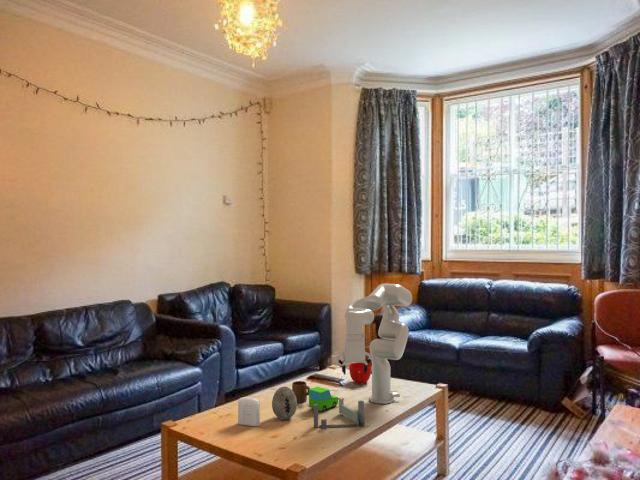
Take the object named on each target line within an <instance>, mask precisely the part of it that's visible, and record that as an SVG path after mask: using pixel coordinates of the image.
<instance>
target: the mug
mask: <svg viewBox="0 0 640 480" xmlns="http://www.w3.org/2000/svg"><path fill="white" fill-rule="evenodd" d="M309 389H311V388H310V386H308V385H307V382H306V381H303V380H302V381H301V380H299V381H298V380H297V381H293V382H292V383H291V390H292V391H293V392H294V394H295V396H296V399H297V404H304V403H306V402H307V400H308V397H309Z"/></svg>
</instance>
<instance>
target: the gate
mask: <svg viewBox="0 0 640 480" xmlns="http://www.w3.org/2000/svg"><path fill="white" fill-rule="evenodd" d="M344 400H345V397H342V396H341V397H338V413H339V414H342V415H343V416H345V417H346V418H348V419H350V420H352V421H354V422H355V423H356V424H358V409H355V410H354V409H352V408H351V407H348V406H347V405H345V404H344V402H345V401H344Z"/></svg>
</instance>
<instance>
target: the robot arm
mask: <svg viewBox="0 0 640 480" xmlns="http://www.w3.org/2000/svg"><path fill="white" fill-rule="evenodd" d="M412 303H413V295H412V293H411V291H410V290H409V289H407V288H405V287H404V286H403V285H401V284H398V283H396V284H395V283H380V284H378V285H377V286H376V288H374V289H373V291H372V292H371V293H370V294H369V295H368V296H364V297H362V298H360V299H357V300H355V301H353V302H352V303H350V305H349V306H348V307H347V308H346V310H345V313H344V319H345V326H346V327H345V335H346V336H345V339H344V341H343V352H341V353H339V354H338V355H336V356H335V357H336V360H337V362H338V363H339V364H340V365H341V372H342V373H343V375H344V376H345V375H346V371H347V370H346V364H347V363H364V364H363V372H364V374H366V371H367V365H368V364H370V362H371V394H372V395H370V396H369V401H370V402H371V403H373V404H379V405H385V404H387V405H388V404H391V403H394V401H395V398H400V396H401V393H400V392H396V391H393V392H392V389H391V386H392V385H391V365H390V362H389V361H388V360H394V361H398V360H400V359H401V358H402V357H403V354H404V352H405V349H406V345H407V343H408V339H409V332H410V331H409V327H408V325H407V324H406V323H403V322H399V319H400V314H399V312H398V310H397V308H396V307H395V306H399V307H409V306H410V305H411V304H412ZM382 308H383V315H382V318H381V321H380V325H379V328H378V332H377V335H378V336H379V338H375V339H373V340H371V342H370V343H369V352H367V351H366V347H365V341H364V338H366V334H365V333H364V334H363V325H364V326H365V325H368V326H369V325H371V324H372V323H373V322H374V320H375V313H374V311H377V310H380V309H382ZM366 356H367V357H368V358H367V359H366ZM342 357H343V359H341V358H342Z"/></svg>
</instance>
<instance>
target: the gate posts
mask: <svg viewBox="0 0 640 480" xmlns="http://www.w3.org/2000/svg"><path fill="white" fill-rule="evenodd" d="M312 410H313V429H318V428H319V429H321V430H327V429H328V428H329V429H331V428H334V429H335V428H358V427H360V428H365V427H366V426H365V421H366V420H365V419H366V416H365V413H366V412H365V401H364V400H358V401H357V410H358V423H356V424H355V423H354V424H353V423H351V424H349V423H348V424H344V423H343V424H327V423H328V422H327V419H326V418H325V419H322V418H321V419H320V424H319V410H318V404H313V409H312Z"/></svg>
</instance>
